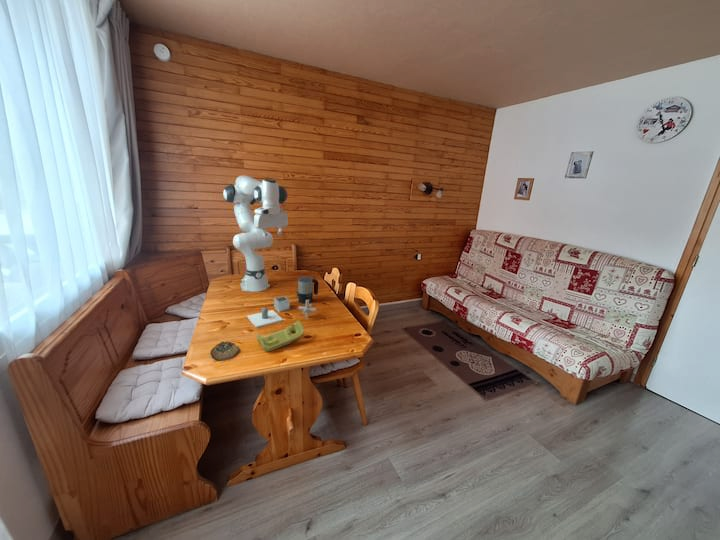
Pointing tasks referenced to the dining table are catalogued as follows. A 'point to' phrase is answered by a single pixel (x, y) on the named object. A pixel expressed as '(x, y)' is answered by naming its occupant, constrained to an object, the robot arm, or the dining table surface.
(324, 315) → the dining table surface
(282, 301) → the sleeve
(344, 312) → the dining table surface
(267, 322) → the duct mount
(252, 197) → the robot arm
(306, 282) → the milk frother
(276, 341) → the plastic component
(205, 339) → the dining table surface
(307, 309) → the pipe connector
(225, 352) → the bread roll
